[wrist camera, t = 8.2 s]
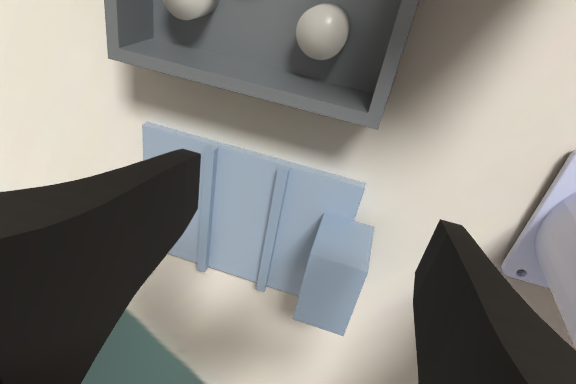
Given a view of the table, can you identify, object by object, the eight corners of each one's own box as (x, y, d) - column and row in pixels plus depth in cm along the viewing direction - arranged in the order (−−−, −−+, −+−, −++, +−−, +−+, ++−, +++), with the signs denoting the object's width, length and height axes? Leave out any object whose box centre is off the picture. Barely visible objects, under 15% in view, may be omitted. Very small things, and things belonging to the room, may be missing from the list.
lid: (386, 185, 23) (381, 236, 19) (345, 300, 28) (334, 360, 24) (151, 119, 25) (98, 152, 21) (153, 238, 30) (111, 283, 26)
